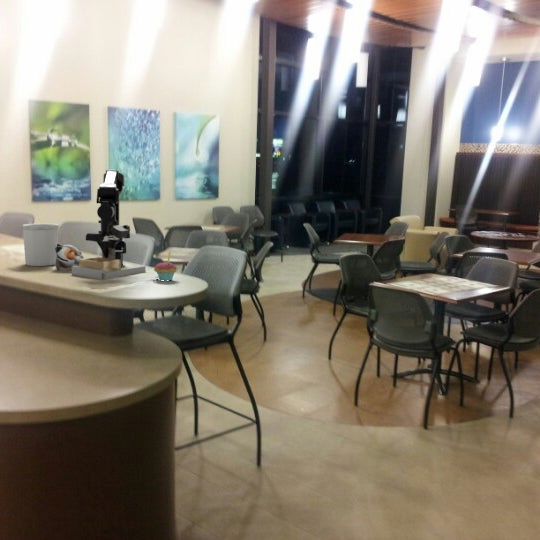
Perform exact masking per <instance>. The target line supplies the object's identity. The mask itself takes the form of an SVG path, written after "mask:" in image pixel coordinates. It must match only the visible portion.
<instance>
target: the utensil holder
mask: <svg viewBox="0 0 540 540" xmlns="http://www.w3.org/2000/svg"><path fill="white" fill-rule="evenodd" d="M21 225H22V229H23V244H24V245H23V247H24V248H23V249H24V260H25V261H24V262H25V265H26V266H29V265H30V266H31V267H45V266H46V267H48V266H55V265H56V264H55V263H56V258H57V254H56V250H55V244H59V228H60V227H59V224H58V223H26V224H25V223H24V224H21Z"/></svg>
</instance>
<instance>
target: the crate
mask: <svg viewBox="0 0 540 540" xmlns="http://www.w3.org/2000/svg"><path fill="white" fill-rule="evenodd" d="M115 251H116V250H115V249H114V248H108V258H105V256H104V254H103V252H102V251H101V253H102V254H101V256H96V257H88V258H87V257H86V258H85V259H79V267H86V268H94V269H101V270H106V272H110V271H116V270H122V267H121V260H120V259H115Z"/></svg>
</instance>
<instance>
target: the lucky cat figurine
mask: <svg viewBox="0 0 540 540" xmlns="http://www.w3.org/2000/svg"><path fill="white" fill-rule="evenodd" d="M55 250H56V254H57V258H56V263H55V264H56V265H54V266H55V269H56V271H62V270H72V266H79V259H86V258H85V257H84V256H83V255H82V252H81V250H80V248H78V247H76V246H74V245H72V244H62V245H61V244H59V243H58V244H55Z"/></svg>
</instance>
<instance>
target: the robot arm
mask: <svg viewBox="0 0 540 540" xmlns="http://www.w3.org/2000/svg"><path fill="white" fill-rule="evenodd" d="M102 179H103V180H102V181H103V182H102V183H100V185H99V187H98V188H97V190H96V191H97V192H96V204H100V206H98V208H97V210H96V211H97V212H96V214H97V216H98V218H100V220H98V224H100V230H98V232H88V233H86V234H85V241H89V242H96V243H97V245H98V247H99V248H100V250H101V253H102V252H103V254H104V256H105V258H108V248H114V249H115V259H120V260H121V268H125V267H126V265H124V263H123V262H124V261H123V260H124V256H123V255H124V254H127V243H126V241H125V240H126V239H130V238H131V228H130V227H131V226H130V225H128V224H124V225H120V197H121V195H122V193H123V191H124V187H125V185H126V184H125V183H126V182H125V176H124V174H122V173H121V172H120V171H119V170H118V169H105V173H104V174H103V178H102Z"/></svg>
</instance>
